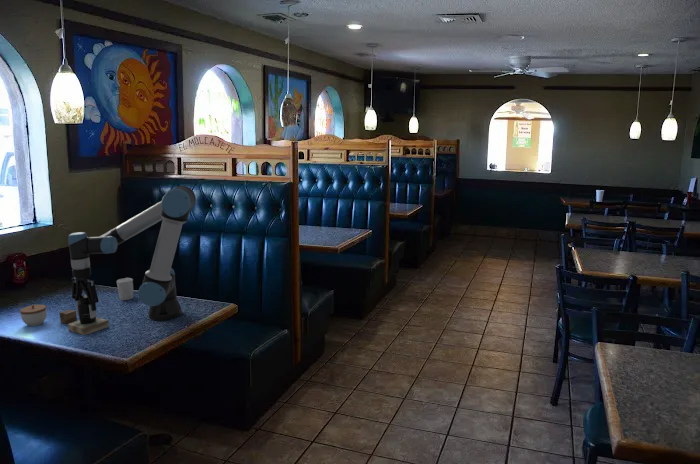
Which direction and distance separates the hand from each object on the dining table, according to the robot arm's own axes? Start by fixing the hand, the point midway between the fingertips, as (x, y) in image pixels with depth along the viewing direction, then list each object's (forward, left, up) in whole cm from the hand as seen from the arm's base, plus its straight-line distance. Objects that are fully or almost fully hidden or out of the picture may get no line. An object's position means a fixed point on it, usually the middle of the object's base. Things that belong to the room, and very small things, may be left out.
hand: (87, 315), depth 252 cm
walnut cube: (+17, -1, -6) cm, 18 cm away
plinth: (0, 0, -6) cm, 6 cm away
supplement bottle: (0, 0, -3) cm, 3 cm away
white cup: (+23, -37, -6) cm, 44 cm away
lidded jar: (+28, +9, -6) cm, 30 cm away
